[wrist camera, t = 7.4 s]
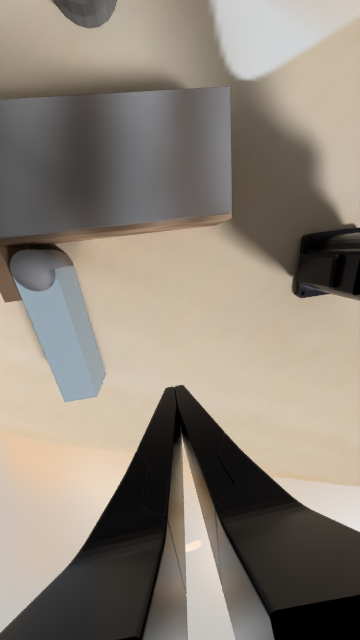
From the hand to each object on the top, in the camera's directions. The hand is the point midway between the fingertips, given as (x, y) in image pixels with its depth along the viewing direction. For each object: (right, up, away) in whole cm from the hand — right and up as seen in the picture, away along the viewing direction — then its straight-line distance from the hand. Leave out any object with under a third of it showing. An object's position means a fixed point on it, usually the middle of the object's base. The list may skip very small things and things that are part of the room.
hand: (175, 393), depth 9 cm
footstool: (-5, +12, +8) cm, 16 cm away
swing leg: (-10, +3, +10) cm, 15 cm away
